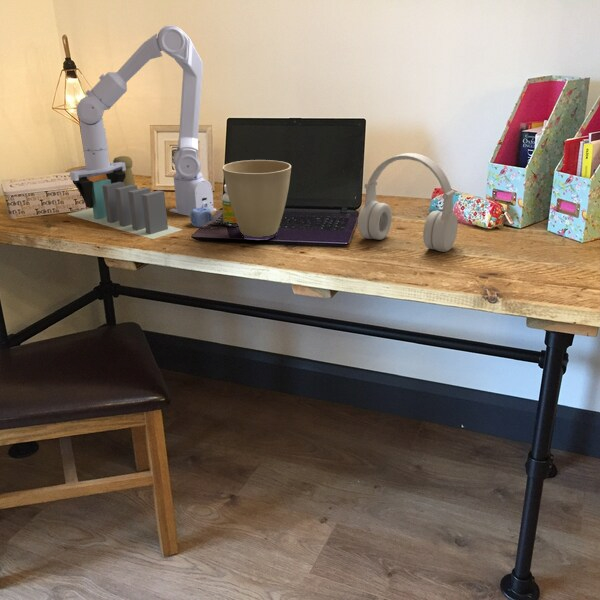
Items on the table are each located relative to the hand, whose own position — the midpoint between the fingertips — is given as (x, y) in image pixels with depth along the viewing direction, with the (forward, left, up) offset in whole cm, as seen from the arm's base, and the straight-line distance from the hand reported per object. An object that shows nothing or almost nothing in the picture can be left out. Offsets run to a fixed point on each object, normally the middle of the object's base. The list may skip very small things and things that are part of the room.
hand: (103, 204), depth 164 cm
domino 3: (-10, 0, -3) cm, 11 cm away
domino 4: (-16, 0, -3) cm, 16 cm away
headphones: (-71, -27, -4) cm, 76 cm away
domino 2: (-6, 0, -3) cm, 6 cm away
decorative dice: (-25, -10, -4) cm, 27 cm away
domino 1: (0, 0, -3) cm, 3 cm away
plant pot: (-42, -12, -4) cm, 44 cm away
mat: (-7, 0, -3) cm, 8 cm away
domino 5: (-20, 0, -3) cm, 21 cm away
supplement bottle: (-31, -15, -4) cm, 35 cm away
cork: (+14, -17, -4) cm, 22 cm away
